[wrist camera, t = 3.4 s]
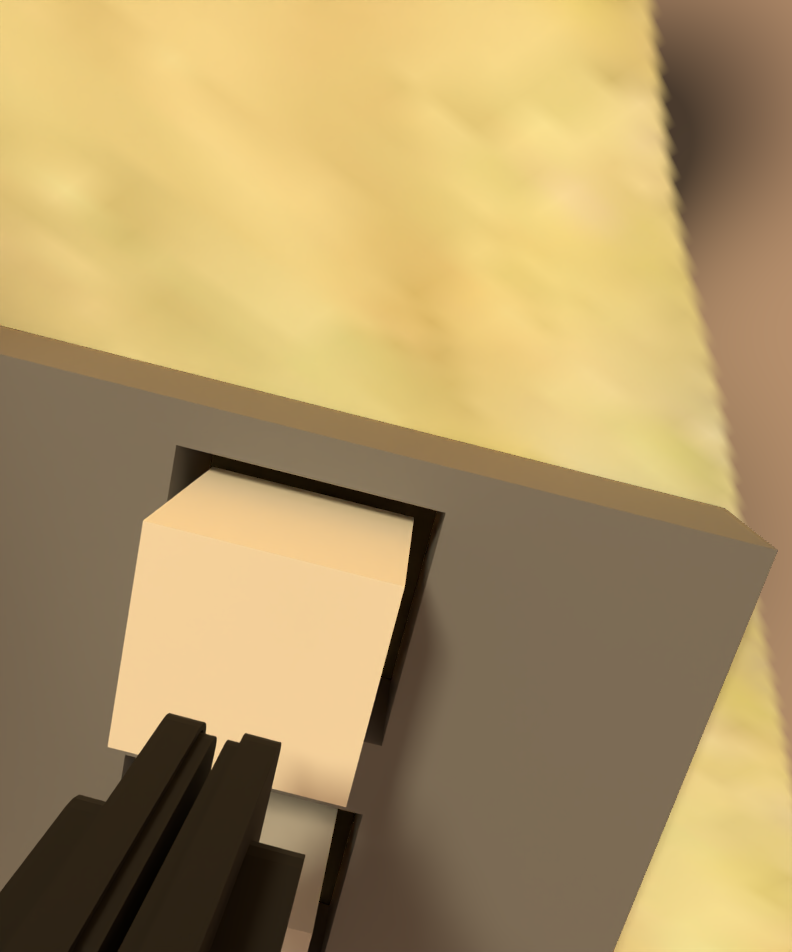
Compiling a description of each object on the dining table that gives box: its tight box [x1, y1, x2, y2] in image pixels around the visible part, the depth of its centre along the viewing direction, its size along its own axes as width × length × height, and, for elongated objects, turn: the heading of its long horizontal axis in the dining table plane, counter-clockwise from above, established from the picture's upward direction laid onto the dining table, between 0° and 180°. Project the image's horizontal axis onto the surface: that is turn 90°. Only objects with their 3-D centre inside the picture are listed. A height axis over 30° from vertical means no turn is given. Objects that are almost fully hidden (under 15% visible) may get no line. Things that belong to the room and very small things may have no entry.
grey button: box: [259, 792, 338, 952], centre depth 17 cm, size 5×5×4 cm
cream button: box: [108, 467, 414, 807], centre depth 15 cm, size 5×5×4 cm
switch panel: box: [0, 326, 778, 952], centre depth 20 cm, size 26×20×3 cm
